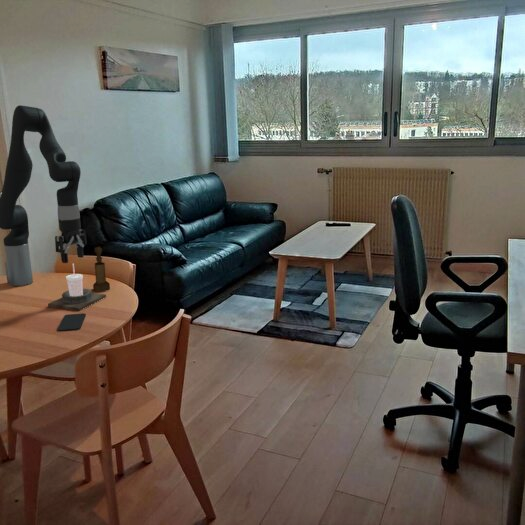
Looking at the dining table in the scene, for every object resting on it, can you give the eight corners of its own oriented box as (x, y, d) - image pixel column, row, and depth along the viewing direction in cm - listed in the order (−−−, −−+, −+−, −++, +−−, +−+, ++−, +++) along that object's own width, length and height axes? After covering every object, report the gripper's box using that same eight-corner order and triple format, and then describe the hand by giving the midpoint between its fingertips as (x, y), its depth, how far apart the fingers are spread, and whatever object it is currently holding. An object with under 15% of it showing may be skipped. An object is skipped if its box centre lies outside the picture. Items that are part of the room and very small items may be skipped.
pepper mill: (107, 292, 211) (103, 248, 207) (91, 292, 212) (87, 248, 207) (112, 287, 218) (108, 244, 213) (96, 287, 218) (92, 244, 213)
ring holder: (48, 306, 195) (47, 297, 194) (76, 293, 209) (75, 284, 208) (79, 311, 190) (78, 301, 189) (106, 297, 205) (105, 288, 204)
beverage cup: (65, 298, 200) (61, 263, 196) (80, 295, 204) (76, 260, 200) (73, 302, 196) (69, 266, 192) (88, 298, 200) (84, 263, 196)
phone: (86, 313, 187) (80, 328, 173) (86, 315, 187) (80, 330, 173) (64, 314, 186) (56, 330, 172) (64, 316, 186) (56, 332, 172)
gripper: (73, 213, 199) (77, 254, 203) (46, 219, 186) (51, 263, 190) (90, 214, 196) (93, 256, 201) (64, 221, 183) (68, 265, 188)
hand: (73, 259), depth 195 cm, fingers open, 8 cm apart
